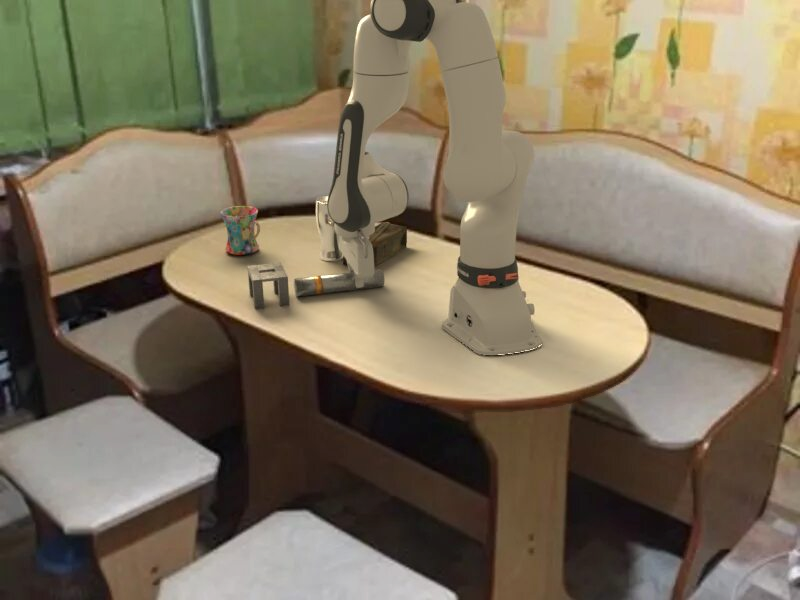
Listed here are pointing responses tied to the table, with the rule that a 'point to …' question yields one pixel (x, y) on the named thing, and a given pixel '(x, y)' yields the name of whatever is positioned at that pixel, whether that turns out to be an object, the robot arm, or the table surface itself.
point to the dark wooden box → (386, 241)
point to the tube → (335, 283)
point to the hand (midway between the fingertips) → (356, 282)
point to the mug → (241, 229)
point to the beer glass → (326, 232)
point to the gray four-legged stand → (256, 281)
